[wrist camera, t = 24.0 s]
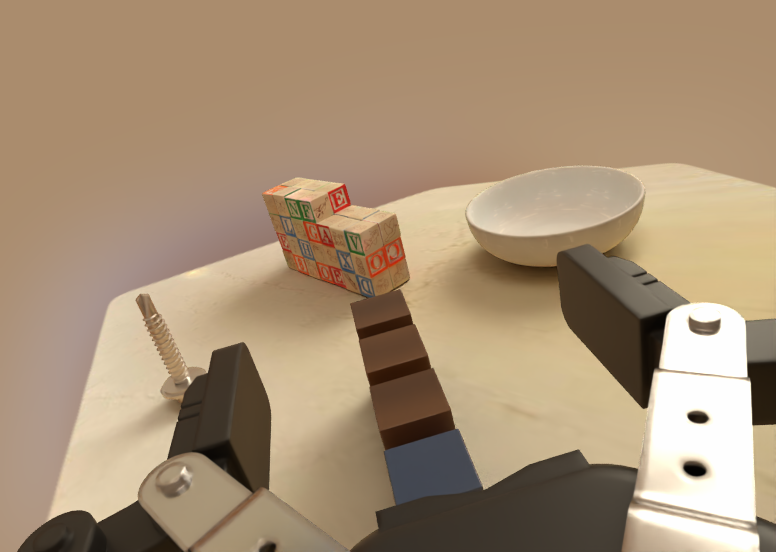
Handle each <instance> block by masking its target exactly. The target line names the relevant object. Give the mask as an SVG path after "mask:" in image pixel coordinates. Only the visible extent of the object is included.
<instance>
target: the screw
mask: <svg viewBox="0 0 776 552" xmlns="http://www.w3.org/2000/svg"><path fill="white" fill-rule="evenodd" d="M136 302H137V304H138V306H139V308H140V310H141V312H142V314H143V316H144V319H143V321H145V322H146V324H145V326H146V327H148V330H147V331H148V332H150V333H151V334H150V336H152V337H153V339H152V341H155V346H157V347H158V348H157V351H160V353H159V355H160V356H162V360H164V361H165V362H164V365H167V367H166V369H168V370H169V372H168V373H169V374H171V376H170V377H169V378H168V379H167V380H166V381H165V382H164V384H163V386H162V388H161V393H162V395H163V397H164V398H166V399H171V400H173V399H177V400H178V401H179V402H180V403H181V404H182V401H183V397H184V393H185V391H186V390H187V388H188V387H189V386H190V384H191V383H192V382H193V380H194V379H195V378H196V377H197V376H199V375H203V374H206V371H205V370H204V369H202V368H198V367H189V368H187V366H186V365H185V362H184V361H183V357H181V353H180V352H178V351H179V349H178V348H177V347H176V343H174V339H173V338H171V337H172V335H171V334H170V333H169V329H168V328H167V324H165V323H164V322H165V320H164V319H162V315H161V314H158V312H157V311H156V308H155V306H154V304H153V302H152V300H151V298H150V296H149V294H140V295H139V296H138V297H137V298H136Z"/></svg>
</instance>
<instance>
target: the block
mask: <svg viewBox="0 0 776 552" xmlns="http://www.w3.org/2000/svg"><path fill="white" fill-rule="evenodd" d="M384 455H385V460H386V464H387V469H388V473H389V477H390V482H391V486H392V491H393V495H394V500H395V504H396V505H399V504H403V503H406V502H409V501H412V500H416V499H419V498H422V497H425V496H435V495H446V494H458V493H469V492H479V491H483V486H482V484H481V481H480V479H479V477H478V474H477V472H476V469H475V467H474V465H473V462H472V460H471V457H470V455H469V453H468V450H467V448H466V446H465V443H464V441H463V438H462V436H461V434H460V431H459V429H455V430H452V431H448V432H445V433H442V434H438V435H435V436H432V437H428V438H425V439H422V440H418V441H415V442H412V443H408V444H405V445H402V446H398V447H395V448H392V449H388V450H385V451H384Z"/></svg>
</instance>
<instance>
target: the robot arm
mask: <svg viewBox="0 0 776 552" xmlns="http://www.w3.org/2000/svg"><path fill="white" fill-rule="evenodd" d="M556 261H557V271H558V281H559V290H560V300H561V308H562V312H563V315H564V318H565V320H566V322H567V324H568V326H569V327H570V329H571V330H572V331H573V332H574V333H575V334H576V335H577V337H578V338H579V339H580V340H581V341H582V342H583V343H584V344H585V345H586V347H587V348H588V349H589V350H590V351H591V352H592V353H593V354H594V355H595V356H596V358H597V359H598V360H599V361H600V362H601V363H602V364H603V365H604V366H605V368H606V369H607V370H608V371H609V372H610V373H611V374H612V375H613V376H614V377H615V379H616V380H617V381H618V382H619V383H620V384H621V385H622V386H623V387H624V389H625V390H626V391H627V392H628V393H629V394H630V395H631V396H632V397H633V398H634V400H635V401H636V402H637V403H638V404H639V405H640V406H641V407H642V408H643V409H645V408H648V411H647V418H646V424H645V430H644V436H643V442H642V449H641V455H640V461H639V467H638V469H636V468H632V467H627V466H622V465H613V464H588V462H587V461H586V459H585V458H584V456H583V455H582V453H581V452H580V450H579V449H578V450H575V451H572V452H569V453H565V454H562V455H559V456H556V457H552V458H549V459H546V460H543V461H539V462H536V463H533V464H530V465H528V466H526V467H524V468H523V469H521V470H519V471H517V472H516V473H514V474H512V475H510V476H509V477H507V478H505V479H503V480H502V481H500V482H498V483H496V484H495V485H493V486H491V487H489V488H488V489H486V490H483V491H479V492H469V493H458V494H446V495H435V496H425V497H422V498H419V499H416V500H412V501H409V502H406V503H403V504H399V505H396V506H393V507H390V508H386V509H383V510H380V511H376V517H377V523H378V528H379V529H378V530H376V531H374V532H373V533H371V534H369V535H368V536H367V537H365V538H364V539H363V540H361V541H360V542H359V543H358V544H356V545H355V546H354V547H353V548H352V549H351V550H350V551H349V550H348V549H346V548H345V547H344V546H342V545H341V544H340V543H338V542H337V541H336V540H334V539H333V538H332V537H330V536H329V535H328V534H326V533H325V532H324V531H322V530H321V529H320V528H318V527H317V526H316V525H314V524H313V523H312V522H310V521H309V520H308V519H306V518H305V517H304V516H302V515H301V514H300V513H298V512H297V511H296V510H294V509H293V508H292V507H290V506H289V505H288V504H286V503H285V502H284V501H282V500H281V499H280V498H278V497H277V496H276V495H274V494H273V493H272V492H270V491H269V471H270V440H271V409H270V404H269V400H268V396H267V393H266V391H265V388H264V386H263V383H262V381H261V378H260V376H259V374H258V371H257V369H256V366H255V364H254V362H253V359H252V357H251V354H250V352H249V350H248V348H247V346H246V344H245V343H244V342H242V343H238V344H235V345H231V346H228V347H224V348H221V349H218V350H214V351H213V352H212V356H211V361H210V366H209V371H208V373H206V374H203V375H199V376H197V377H196V378H195V379H194V380H193V382H192V383H191V384H190V386H189V387H188V388H187V390H186V391H185V393H184V397H183V401H182V404H181V410H180V412H179V416H178V422H177V424H176V427H175V431H174V435H173V439H172V443H171V447H170V450H169V454H168V458H167V460H166V461H164V462H163V463H161V464H160V465H158V466H157V467H156V468H155V469H153V470H152V471H151V472H150V473H149V474H148V476H147V477H146V478H145V479H144V481H143V482H142V484H141V486H140V488H139V492H138V500H137V501H136V502H135V503H133V504H131V505H130V506H128V507H126V508H124V509H122V510H121V511H119V512H117V513H115V514H113V515H111V516H109V517H108V518H106V519H104V520H102V521H100V522H98V523H97V522H96V521H95V519H94V518H93V517H92V515H91V514H90V513H88V512H86V511H82V510H76V511H70V512H67V513H64V514H61V515H59V516H57V517H55V518H53V519H51V520H49V521H48V522H46V523H45V524H43V525H42V526H41V527H39V528H38V529H37V530H36V531H35V532H33V533H32V534H31V535H30V536H29V537H28V538H27V539H26V540H25V542H24V543H23V544H22V545H21V547H20V548H19V550H18V551H17V552H776V524H774V523H772V522H769V521H767V520H765V519H762V518H760V517H757V516H756V506H755V482H754V457H753V432H752V425H773V424H776V319H765V320H753V321H745V320H744V318H743V317H742V316H741V315H740V314H739V313H738V312H737V311H735V310H733V309H731V308H729V307H726V306H723V305H719V304H713V303H690V302H688V301H687V300H686V299H684V298H683V297H681V296H680V295H679V294H677V293H676V292H674V291H673V290H672V289H670V288H669V287H668V286H666V285H665V284H663V283H662V282H661V281H659V282H658V280H657V279H656V278H655V277H654V276H652V275H651V274H647V272H646V271H645V270H644V269H642V268H641V267H640V266H638V265H637V264H635V263H634V262H632V261H628V260H625V259H622V258H619V257H615V256H612V257H609V258H607V257H606V256H604V255H603V254H602V253H600V252H599V251H598V250H597V249H595V248H594V247H593V246H591V245H590V244H584V245H581V246H577V247H574V248H570V249H567V250H563V251H560V252H558V254H557V260H556Z"/></svg>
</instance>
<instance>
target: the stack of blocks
mask: <svg viewBox="0 0 776 552" xmlns="http://www.w3.org/2000/svg"><path fill="white" fill-rule="evenodd" d="M262 196H263V198H264V201H265V203H266V206H267V209H268V211H269V215H270V217H271V221H272V223H273V226H274V229H275V231H276V233H277V236H278V238H279V241H280V244H281V247H282V249H283V254H284V256H285V259H286V261H287V264H288V267H289V268H292V269H295V270H297V271H299V272H301V273H304V274H307V275H310V276H312V277H314V278H317V279H320V280H324V281H327V282H330V283H332V284H336V285H338V286H341V287H344V288H346V289H348V290H351V291H353V292H356V293H358V294H362V295H364V296H366V297H369V298H371V297H375V296H378V295H382V294H385V293H388V292H390V291H391V290H393V289H394V288H396V287H398V286H399V285H401V284H402V283H404V282H405V281H407V280H408V279H410V275H409V270H408V266H407V262H406V259H405V253H404V249H403V245H402V241H401V237H400V236H401V233H400V229H399V225H398V221H397V217H396V214H395V213H391V212H385V211H380V210H376V209H371V208H365V207H360V206H351V203H350V199H349V196H348V193H347V189H346V186H345V184H341V183H334V182H327V181H318V180H310V179H305V178H294V179H292V180H290V181H287V182H285V183H283V184H281V185H280V186H277V187H275V188H272V189H270V190H268V191H266V192H264V193H262Z"/></svg>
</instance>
